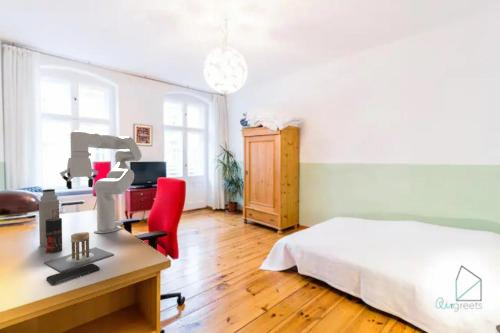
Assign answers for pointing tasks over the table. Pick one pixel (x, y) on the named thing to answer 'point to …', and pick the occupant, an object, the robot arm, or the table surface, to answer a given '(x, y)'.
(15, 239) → the table surface
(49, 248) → the deodorant
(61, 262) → the mat
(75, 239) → the stool
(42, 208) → the thermos bottle
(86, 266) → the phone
